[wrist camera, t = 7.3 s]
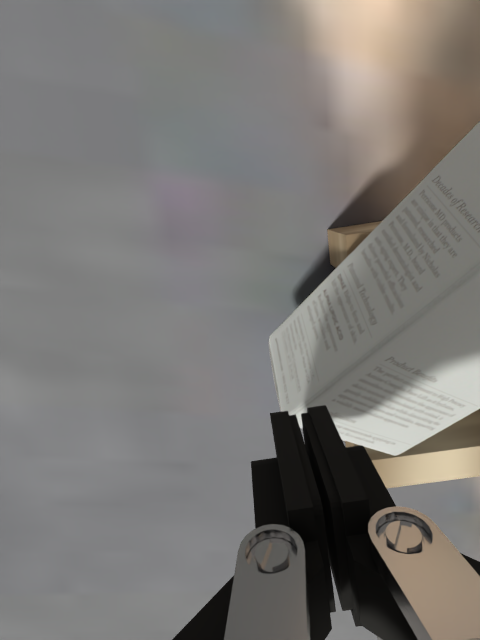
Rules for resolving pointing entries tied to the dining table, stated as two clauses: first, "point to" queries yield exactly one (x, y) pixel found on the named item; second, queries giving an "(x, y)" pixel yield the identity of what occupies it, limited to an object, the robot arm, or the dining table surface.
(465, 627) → the robot arm
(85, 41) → the dining table surface
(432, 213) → the skincare box
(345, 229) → the wooden tray
